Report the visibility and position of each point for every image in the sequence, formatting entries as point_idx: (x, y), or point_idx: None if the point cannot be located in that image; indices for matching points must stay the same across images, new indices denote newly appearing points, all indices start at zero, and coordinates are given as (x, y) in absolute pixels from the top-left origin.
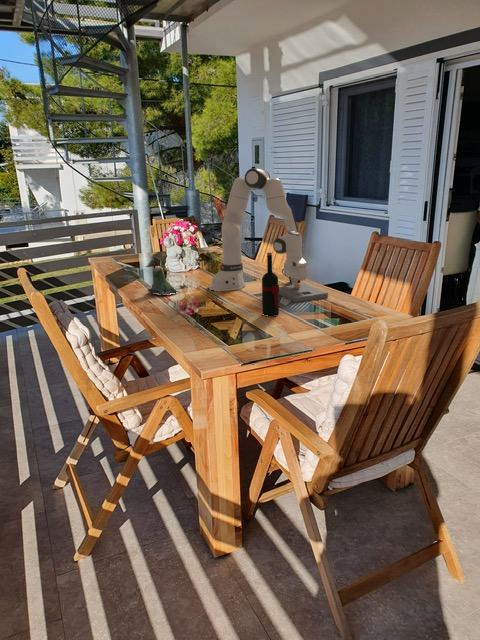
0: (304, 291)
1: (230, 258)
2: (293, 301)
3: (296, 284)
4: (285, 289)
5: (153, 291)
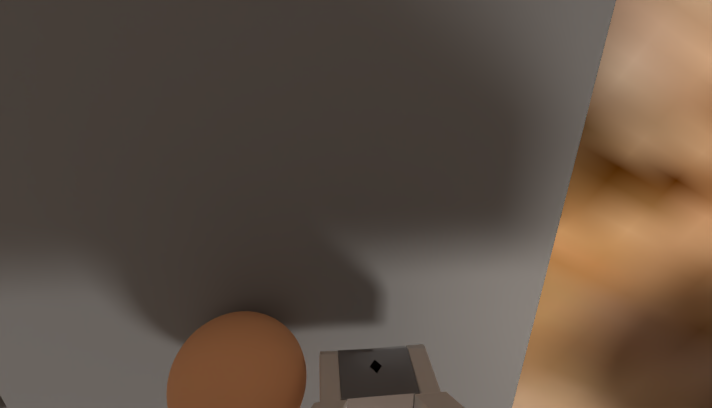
0: (18, 364)
1: None
2: None
3: (182, 394)
4: (320, 134)
5: None
